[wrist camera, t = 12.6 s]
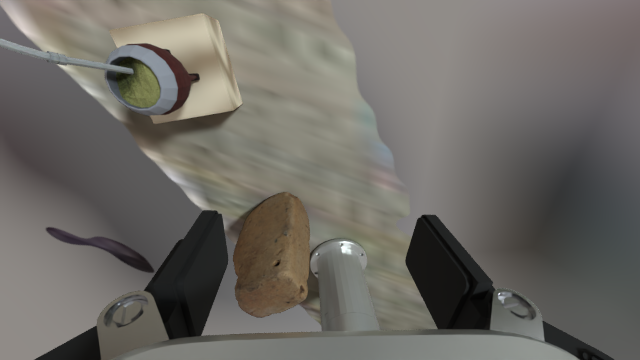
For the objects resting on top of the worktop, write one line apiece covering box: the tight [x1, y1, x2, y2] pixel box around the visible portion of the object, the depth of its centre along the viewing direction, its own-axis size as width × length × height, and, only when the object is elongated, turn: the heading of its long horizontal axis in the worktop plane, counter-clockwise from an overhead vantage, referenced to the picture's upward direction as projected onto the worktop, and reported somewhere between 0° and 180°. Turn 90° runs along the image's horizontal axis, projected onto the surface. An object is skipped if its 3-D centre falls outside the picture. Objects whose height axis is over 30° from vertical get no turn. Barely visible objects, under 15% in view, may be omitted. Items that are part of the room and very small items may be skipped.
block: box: [233, 192, 310, 318], centre depth 38 cm, size 11×8×20 cm
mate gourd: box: [0, 38, 200, 116], centre depth 23 cm, size 8×8×15 cm
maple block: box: [109, 13, 243, 124], centre depth 32 cm, size 11×11×6 cm
